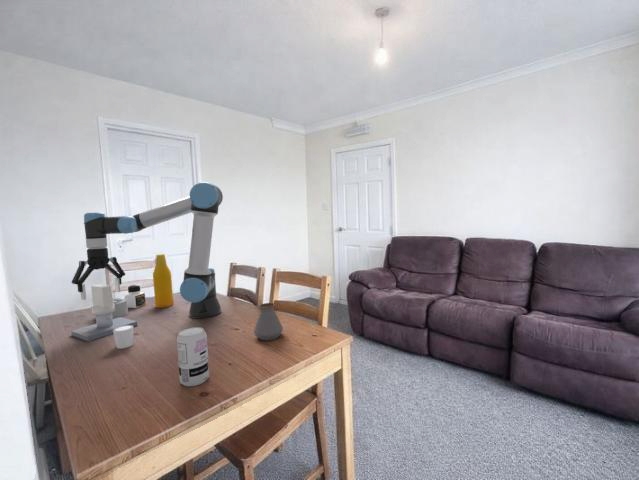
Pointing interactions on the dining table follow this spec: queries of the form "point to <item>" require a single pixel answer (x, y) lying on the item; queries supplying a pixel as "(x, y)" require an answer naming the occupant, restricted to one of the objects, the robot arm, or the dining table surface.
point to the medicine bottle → (135, 297)
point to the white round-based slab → (102, 299)
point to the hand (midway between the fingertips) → (101, 295)
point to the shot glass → (123, 336)
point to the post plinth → (101, 331)
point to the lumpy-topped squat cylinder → (120, 307)
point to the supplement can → (192, 356)
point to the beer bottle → (162, 283)
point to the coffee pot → (267, 321)
